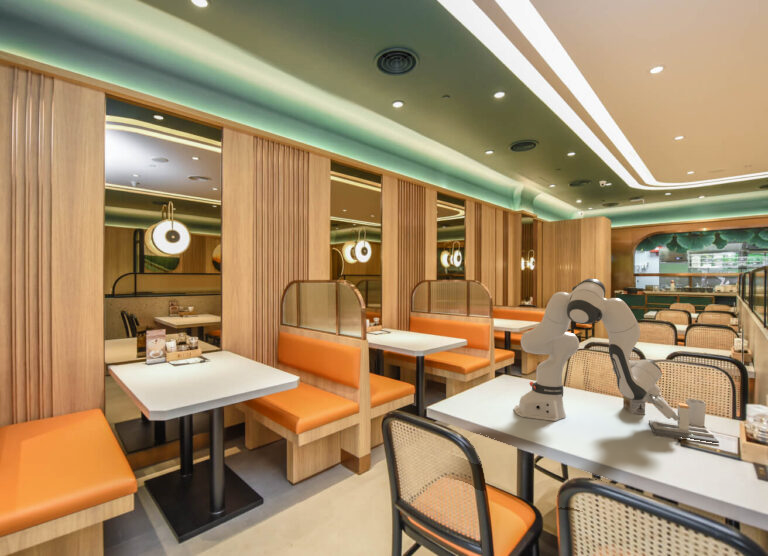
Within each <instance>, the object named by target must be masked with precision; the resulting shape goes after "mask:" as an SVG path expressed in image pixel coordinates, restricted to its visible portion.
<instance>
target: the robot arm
mask: <svg viewBox="0 0 768 556" xmlns="http://www.w3.org/2000/svg"><path fill="white" fill-rule="evenodd" d="M606 291H607V290H606V287H605V285H604V283H603V282H602V281H601V280H598V279H596V278H586V279H584V280H582V281H581V282H579V283H578V284H577V285H576V286H574V287H572V291H571V292H565V291H558V292H555V293H554V294H552V296H551V298H549V301H548V303H547V305H546V306H545V307H546V308H545V310H544V314H543V316H542V320H541V321H540V322H539V323H538V324H537V325H536V326H535V327H533V328H532V329H530V330H528V331H525V332H524V333H523V334H522V335H521V338H520V346H521V348H522V350H523V351H524V352H525V353H529V354H533V355H549V356H548V357H547V359H546V360H544V361H542V362H540V363H539V364H538V365H537V366H536V382H534V381H529V382H528V383H529V386H530V387H531V390H530V391H528V392H526V393H525V394H523V395H521V397H520V398H519V401H518V402H519V404H516V405H514V412H515V414H516V415H518V416H519V417H522V418H527V419H528V418H529V419H537V420H544V421H553V422H557V421H559V420H561V419H564V418H566V416H567V415H566V412H565V407H564V402H563V401H564V400H563V398H564V385H563V373H564V368H565V365H566V363H567V361H568V360H569V359H570V357H572V356H573V355H574V354H576V353H577V351H578V350H579V348H580V341H579V338H578V337H577V335H576V334H575V333H572V332H570V331H569V332H568V330H569V328H570V325H571V322H573V323H575V324H581V325H590V324H597V323H599V322H600V321H601V322H602V324H603V326H604V328H605V330H606V333H607V337H608V354H609V358H610V361H611V365H612V372H613V373H614V374H615V376H616V384H617V385H616V386H617V389H618V391H619V392H620V394H621V395H622V396H625V397H626V398H628V399H631V400H642V401H643V402H645V403H646V402H647V403H648V404H652V405H653V406H654V407H655V408H656V409H657V410H658V411H659V413H661V414H662V415H663V416H664V417H665V418H667V420H668V419H671V418H672V419H673V420H674V421H675V422H678V420H679V418H678V414H676V412H675V411H674V409H673V408H672V407H671V406H670V404H669V403H668V402H667V400H666V399H665V398H664V397H663V396H662V393H661V390H662V389H661V387H659V385H657V384H656V383H658V382H659V380H661V377H662V375H663V371H662V370H661V367H660V365H658V364H657V363H656V362H655V361H653V360H650V359H646V358H642V359H640V360H631V359H630V357H631V354H632V353H633V350H634V348H635V347H636V345H637V343H638V341H639V339H640V337H641V328H640V324H639V323H638V320H637V319H636V317H635V314H634V313H633V311H632V310H631V308H630V306H628V304H627V303H626V302H625V301H624V300H623V299H621V298H619V297H611V298H605V297H606Z"/></svg>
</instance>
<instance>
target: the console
mask: <svg viewBox="0 0 768 556" xmlns="http://www.w3.org/2000/svg"><path fill="white" fill-rule="evenodd" d="M648 426H649V427H650V429H651V430H652V432H653V433H654V435H655V436H657V437H658V436H659V437H665V438H668V439H669V438H670V439H676V438H679V437H682V438H690V439H694V440H700V441H706V442H712V443H720V441H719V440H718V439H717V438H716V437H715V435H714V434H713V432H712V431H711V430H710V429H709V428H707V427H706V428H705V427H701V426H694V425H692V426H691V425H689V430H683V429H678V423H671V422H664V421H658V420H652V419H651V420H648Z"/></svg>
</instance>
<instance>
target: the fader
mask: <svg viewBox="0 0 768 556" xmlns="http://www.w3.org/2000/svg"><path fill="white" fill-rule="evenodd" d="M677 416H678V418H679V420H677V424H678V429H683V430H689V426H690V424H689V406H688V405H687V404H686V403H684V402H683V403H682V402H677Z"/></svg>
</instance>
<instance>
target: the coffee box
mask: <svg viewBox="0 0 768 556" xmlns="http://www.w3.org/2000/svg"><path fill="white" fill-rule="evenodd" d="M622 396H623V395H622ZM622 398H623V404H622V405H623V406H622V407H623V408H624V409H625V410H626V411H628V412H629V413H630V414H633V415H634V414H635V415H645V414H646V402H643V401H642V400H631V399H628V398H626V397H625V396H623V397H622Z"/></svg>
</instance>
